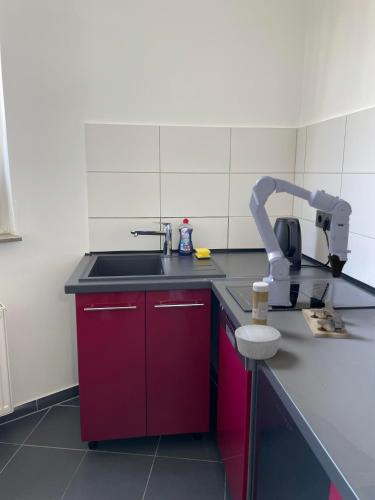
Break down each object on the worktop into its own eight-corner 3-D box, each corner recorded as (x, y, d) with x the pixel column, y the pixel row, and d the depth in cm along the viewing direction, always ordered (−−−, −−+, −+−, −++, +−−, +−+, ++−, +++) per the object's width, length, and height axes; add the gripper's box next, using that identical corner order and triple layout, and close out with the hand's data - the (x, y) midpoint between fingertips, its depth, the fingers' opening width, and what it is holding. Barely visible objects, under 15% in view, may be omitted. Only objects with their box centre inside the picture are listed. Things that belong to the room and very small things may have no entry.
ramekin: (225, 351, 100) (226, 332, 99) (252, 339, 107) (252, 320, 106) (262, 367, 92) (263, 345, 91) (288, 352, 100) (289, 332, 99)
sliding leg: (311, 317, 119) (312, 301, 118) (309, 314, 122) (310, 298, 121) (335, 318, 119) (336, 302, 118) (332, 315, 122) (333, 299, 121)
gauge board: (314, 336, 109) (315, 329, 108) (302, 311, 128) (302, 306, 128) (348, 338, 108) (349, 331, 107) (330, 312, 127) (330, 307, 127)
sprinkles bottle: (249, 325, 117) (251, 281, 114) (264, 324, 117) (266, 281, 115) (254, 331, 112) (255, 286, 110) (269, 330, 113) (271, 285, 110)
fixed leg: (318, 330, 110) (319, 312, 109) (316, 326, 113) (317, 309, 112) (344, 331, 109) (345, 313, 108) (341, 327, 112) (342, 309, 111)
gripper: (358, 240, 121) (355, 283, 123) (345, 233, 135) (342, 272, 137) (334, 240, 121) (331, 282, 124) (324, 233, 136) (321, 271, 138)
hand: (335, 277), depth 131 cm, fingers closed
